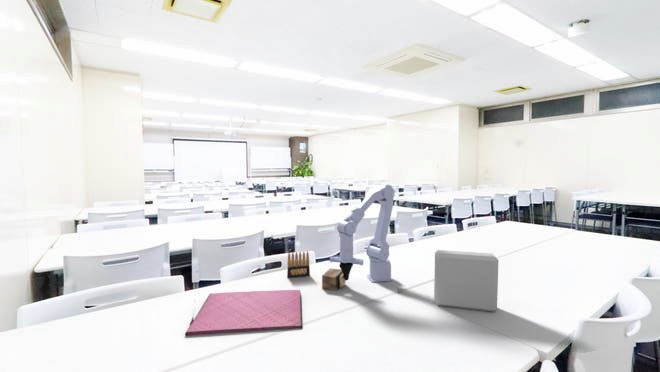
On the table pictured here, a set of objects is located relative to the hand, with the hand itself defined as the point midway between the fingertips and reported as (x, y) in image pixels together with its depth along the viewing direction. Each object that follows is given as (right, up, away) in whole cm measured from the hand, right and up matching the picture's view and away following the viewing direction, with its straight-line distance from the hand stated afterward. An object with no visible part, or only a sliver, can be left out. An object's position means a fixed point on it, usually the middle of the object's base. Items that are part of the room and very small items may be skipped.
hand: (346, 279), depth 131 cm
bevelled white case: (+43, -5, -17) cm, 47 cm away
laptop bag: (-38, -6, -22) cm, 44 cm away
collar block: (-6, -3, +2) cm, 7 cm away
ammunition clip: (-22, -3, +14) cm, 26 cm away
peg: (-6, -3, +2) cm, 7 cm away
